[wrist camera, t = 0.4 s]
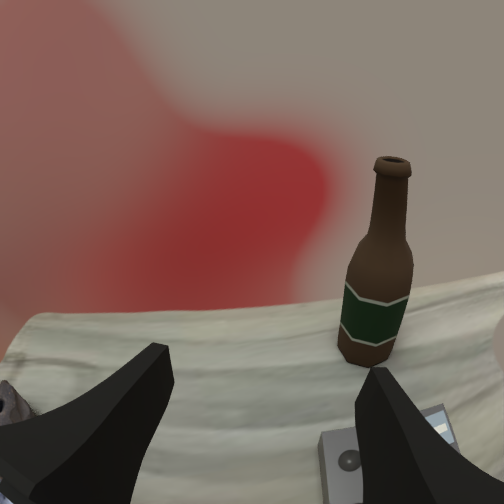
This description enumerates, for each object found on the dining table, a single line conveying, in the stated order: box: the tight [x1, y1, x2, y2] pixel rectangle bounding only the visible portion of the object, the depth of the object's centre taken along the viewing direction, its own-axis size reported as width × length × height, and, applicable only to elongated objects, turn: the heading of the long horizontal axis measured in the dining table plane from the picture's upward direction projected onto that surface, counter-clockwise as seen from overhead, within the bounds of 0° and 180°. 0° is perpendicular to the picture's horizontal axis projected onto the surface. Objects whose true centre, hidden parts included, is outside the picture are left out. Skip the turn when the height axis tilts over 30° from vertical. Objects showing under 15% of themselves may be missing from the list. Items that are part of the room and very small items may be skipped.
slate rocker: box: [425, 410, 454, 445], centre depth 17 cm, size 4×7×1 cm, turn 89°
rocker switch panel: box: [318, 403, 461, 504], centre depth 15 cm, size 18×13×4 cm
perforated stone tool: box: [0, 380, 35, 480], centre depth 19 cm, size 15×5×7 cm, turn 8°
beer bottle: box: [337, 156, 414, 368], centre depth 28 cm, size 8×8×24 cm
